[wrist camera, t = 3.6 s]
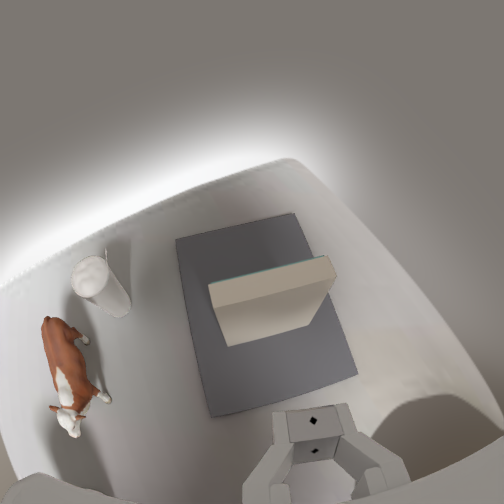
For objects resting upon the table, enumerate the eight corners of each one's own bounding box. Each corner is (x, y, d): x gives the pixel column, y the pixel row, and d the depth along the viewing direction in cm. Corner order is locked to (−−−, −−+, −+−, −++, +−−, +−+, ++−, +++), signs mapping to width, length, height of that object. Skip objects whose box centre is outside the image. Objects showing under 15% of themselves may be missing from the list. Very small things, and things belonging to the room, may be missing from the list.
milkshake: (148, 306, 32) (114, 266, 24) (113, 330, 31) (69, 297, 22) (132, 278, 34) (98, 233, 26) (99, 301, 32) (57, 262, 24)
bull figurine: (94, 438, 24) (53, 440, 17) (65, 336, 30) (27, 313, 23) (125, 430, 25) (87, 432, 18) (91, 325, 31) (55, 299, 24)
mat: (356, 374, 28) (358, 373, 27) (212, 417, 26) (211, 417, 25) (293, 215, 39) (294, 213, 38) (176, 242, 37) (175, 239, 36)
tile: (308, 324, 31) (336, 276, 20) (227, 346, 29) (213, 308, 19) (302, 308, 32) (326, 253, 21) (223, 329, 30) (207, 282, 20)
